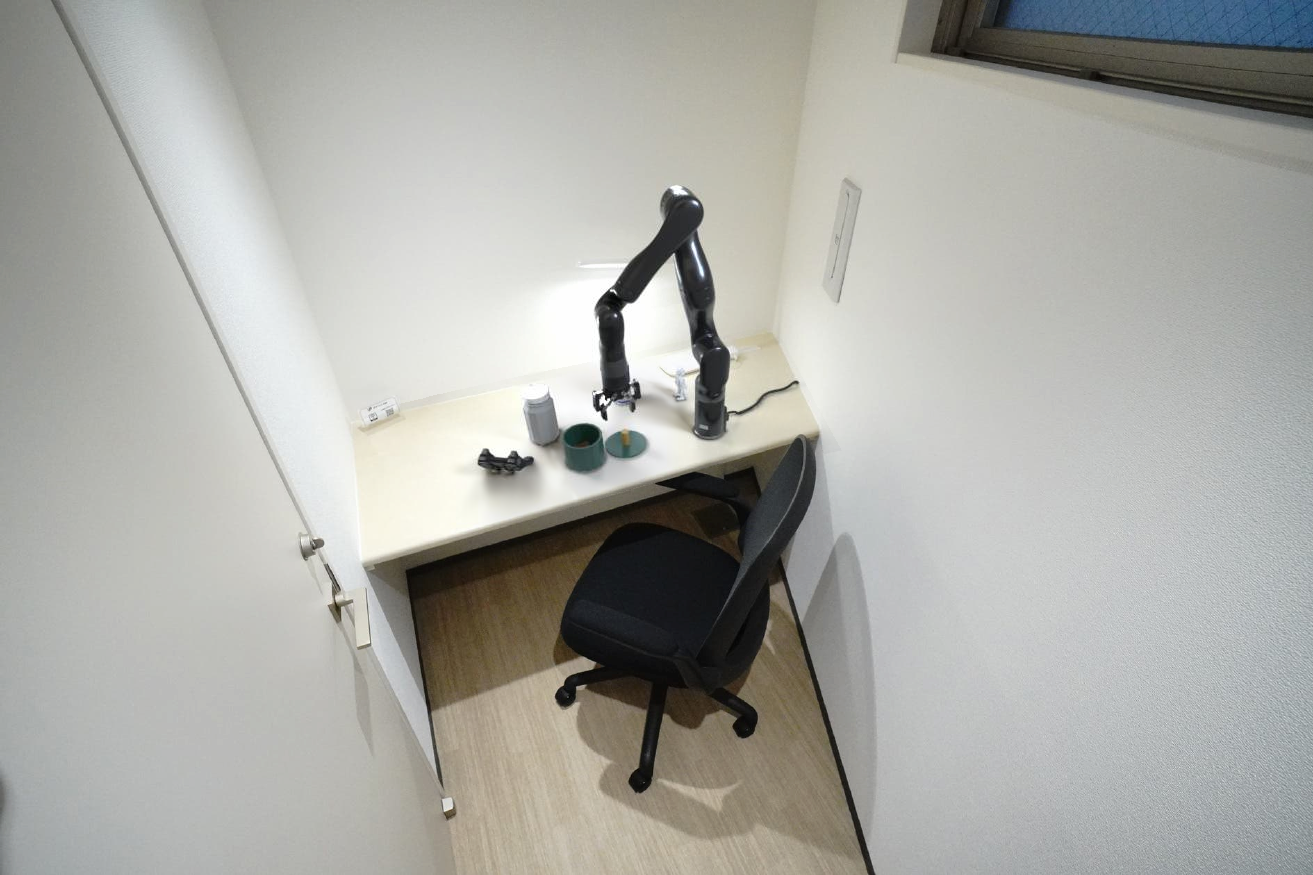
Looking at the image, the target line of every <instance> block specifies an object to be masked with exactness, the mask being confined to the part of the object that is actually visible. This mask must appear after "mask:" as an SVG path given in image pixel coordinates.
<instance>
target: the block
mask: <svg viewBox="0 0 1313 875" xmlns="http://www.w3.org/2000/svg"><path fill="white" fill-rule="evenodd" d="M587 446H590V444H589V443H588V441H586V442H583V443H580V444H578V445H575V446H574V447H577V448H581V447H587Z"/></svg>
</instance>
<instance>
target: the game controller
mask: <svg viewBox="0 0 1313 875" xmlns="http://www.w3.org/2000/svg"><path fill="white" fill-rule="evenodd" d="M534 462H535V458H534V456H532V455H527V456H525V457H521V455H519V452H518V450H511V451H510V452H509V455H508V456H507V457H500V456H495V455H494V454H492V453H491V451H490V449H489V448H486V447H485V448H482V450H481V452H480V453H479V455H478V458H477V466H478V467H480V468H484V469H491V472H492V473H494V474H499V473H500V471H502V469H503V470H504V473H505V474H506V475H512V474H513V473H514V472H521V471H523V469H525V468H527V467H529V466H530V465H532V464H533V463H534Z"/></svg>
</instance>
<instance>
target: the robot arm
mask: <svg viewBox="0 0 1313 875" xmlns="http://www.w3.org/2000/svg"><path fill="white" fill-rule="evenodd" d="M659 213H660V216H661V219H662V224H661V226H660V228H659V230H658V232H657V234H656V235H655V236H654V238H653V239H652V240H651V241H650V242H649V244H648V245H647V246H645V247H644V248H643V249H642V250H641V251H640V252H638V253H637V254H636V255H634V257H633V258H632V259H631V260H630V261H629V262H628V263H627V264H626V266H625V267H624V269H623V270H622V272H621V273H620V275H618V278H617V279H616V280H615V282H614V284H613V285H611V286H610V287H609V288H608V289H607V290H606V291H604V293H603V294H602V295H601V296H600V298H598V300H597V302H596V304H595V305H594V308H593V316H594V318H595V322H596V327H597V331H598V351H599V370H600V376H601V377H600V378H601V385H602V389H601V390H599V391H597V390H595V389H594V390H593V391H591V392H592V393H591V394H592V407H593V409H594V410H595V411H596V412H595V413H599V412H600V418H602V420H603V421H605V422H608V420H609V418H608V417H609V416H608V411H607V410H608V408H609V407H610V406H611V405H612V404H613V403H616V401H617V400H622V399H623V398H624V397H626V398H627V399H628V400H629V403H628V409H629V411H630V412H631V413H632V414H633V413H635V411H636V408H637V405H636V403H637V402H636V401H637V400H641V399H642V391H641V384H640V382H639V381H638V380H637V379H636V378H633V379H632V381H630V382H629V379H628V367H627V362H628V360H627V356H626V345H625V330H626V328H625V326H626V325H625V319H624V314H623V312H622V311H623V310H624V308H625V307H626V306H627V305H628V304H630V305H633V304H634V303H636V302H637V301H638V300H639V298H640V297H641V296H642V294H643V292H644V291H645V290H646V288H647V287H648V286H649V284H650V283H651V281H652V280H653V279H654V277H655V276H656V275H657V273H658V272H659V271H660V270H661V268H662V267H663V266H664V265H665V264H666V263H667V261H668V260H670V258H671V257H672V258H673V264H674V270H675V277H676V282H677V287H678V291H679V295H680V300H681V304H682V306H683V310H684V314H685V317H686V320H687V323H688V327H689V335H690V346H691V352H692V356H693V358H694V359H695V361H696V362H697V364H698V365H699V373H698V374H697V375H696V377H695V379H694V426H693V432H694V434H695V435H696V436H697V437H698V438H700V439H703V440H715V439H718V438H720V437H721V436H722V435H723V434H724V433H725V432H726V431H727V422H729V421H730V415H731V414H735V415H741V414H745V413H746V412H749V411H750V410H752V409H754V408H756V406H758V405H759V404H760V403H761V401H762V400H763V399H764V397H766V396H767V395H769V394H773V393H779V392H782V391H785V390H788V389H789V388H791V387H792V386H793V385H794V384H800V382H799V381H798V380H793V381H792V382H790V383H789V384H787V385H786V386H784V387H781V388H777V389H771V390H768V391H766V392H765V393H763V394H762V395H761V396H760V397H759V399H757V401H756V402H755V403H754V404H752V405H750V406H749V407H747V408H746V409H743V410H739V411H737V410H729V411H728V407H727V406H726V405H725V404H726V386H727V383H728V381H729V378H730V368H731V353H730V350H729V348H728V347H727V345H726V344H725V343H724V342H723V341H722V339H721V337H720V336H719V334H718V331H717V328H716V323H715V320H714V319H715V318H714V310H715V306H716V296H717V295H716V288H715V283H714V278H713V274H712V270H711V267H710V264H709V261H708V258H707V256H706V254H705V251H704V248H703V247H702V243H701V241H700V237H699V231H698V229H699V227H700V226H702V225H701V224H702V222H703V220H704V217H705V208H704V206H703V203H702V201H701V200H700V199H699V198H698V197H697V195H696V194H694V192H692V191H691V190H690V189H689V188H688V187H686V186H683V185H672V186H670V187H668V188H667V189H666V190H665V191H664V192H663V193H662V196H661V198H660V200H659ZM630 387H631V389H632V390H633V393H634V394H632V393H631V394H630V393H629V392H628V391H629V389H630ZM602 396H603V397H602ZM600 401H601V402H600Z"/></svg>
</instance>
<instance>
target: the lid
mask: <svg viewBox="0 0 1313 875" xmlns="http://www.w3.org/2000/svg"><path fill="white" fill-rule="evenodd" d="M647 445H648V444H647V439H646V437H645V436H644V435H643V434H642V433H641V432H639V431H636V430H630V429H628V428H623V429H621V430H620V431H619V430H618V431H616V432H614V433H613V434H611V435H610V436H608V438H607V439H606V441H605V449H606V451H607V453H609V454H610V455H611V456H613V457H615V458H619V459H630V458H634V457H636V456H639V455H640V454H642V453H643V452H644V451H645V450H646V448H647Z"/></svg>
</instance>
